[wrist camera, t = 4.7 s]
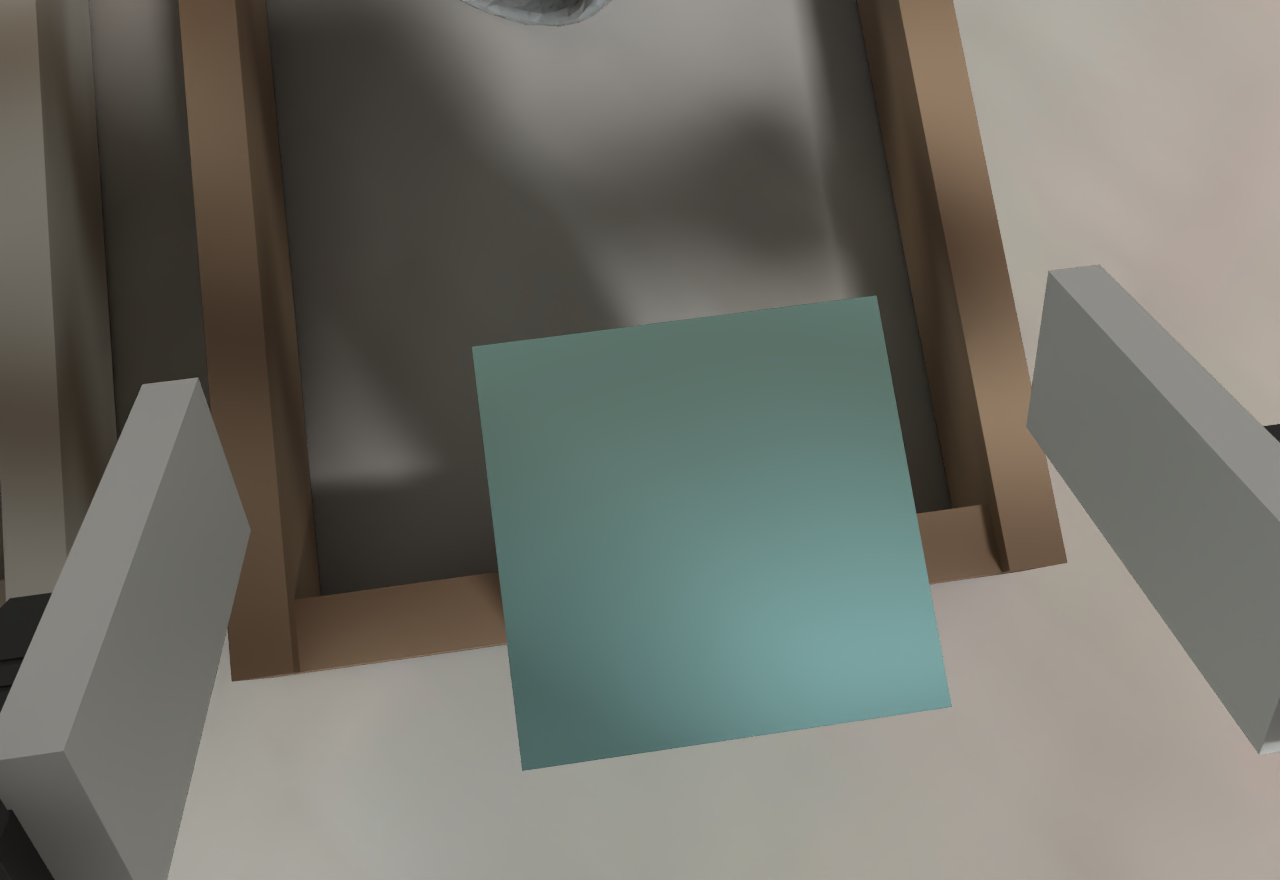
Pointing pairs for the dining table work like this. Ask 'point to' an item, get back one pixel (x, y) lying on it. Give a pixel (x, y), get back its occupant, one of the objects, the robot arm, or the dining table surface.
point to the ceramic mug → (541, 10)
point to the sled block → (50, 291)
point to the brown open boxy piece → (655, 453)
